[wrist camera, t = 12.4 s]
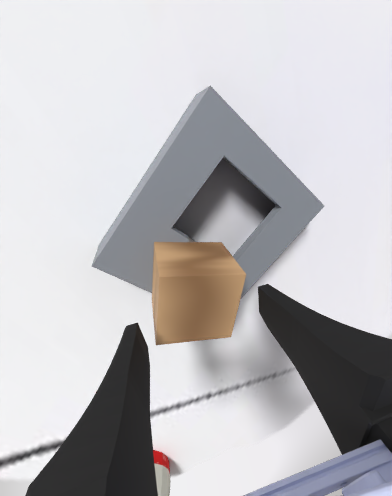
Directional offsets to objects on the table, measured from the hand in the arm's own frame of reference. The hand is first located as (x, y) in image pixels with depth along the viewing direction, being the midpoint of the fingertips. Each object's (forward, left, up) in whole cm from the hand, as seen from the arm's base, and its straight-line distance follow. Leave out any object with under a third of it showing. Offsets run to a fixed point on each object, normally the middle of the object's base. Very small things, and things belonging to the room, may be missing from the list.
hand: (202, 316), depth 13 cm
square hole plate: (0, -4, -8) cm, 9 cm away
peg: (0, 0, -8) cm, 8 cm away
